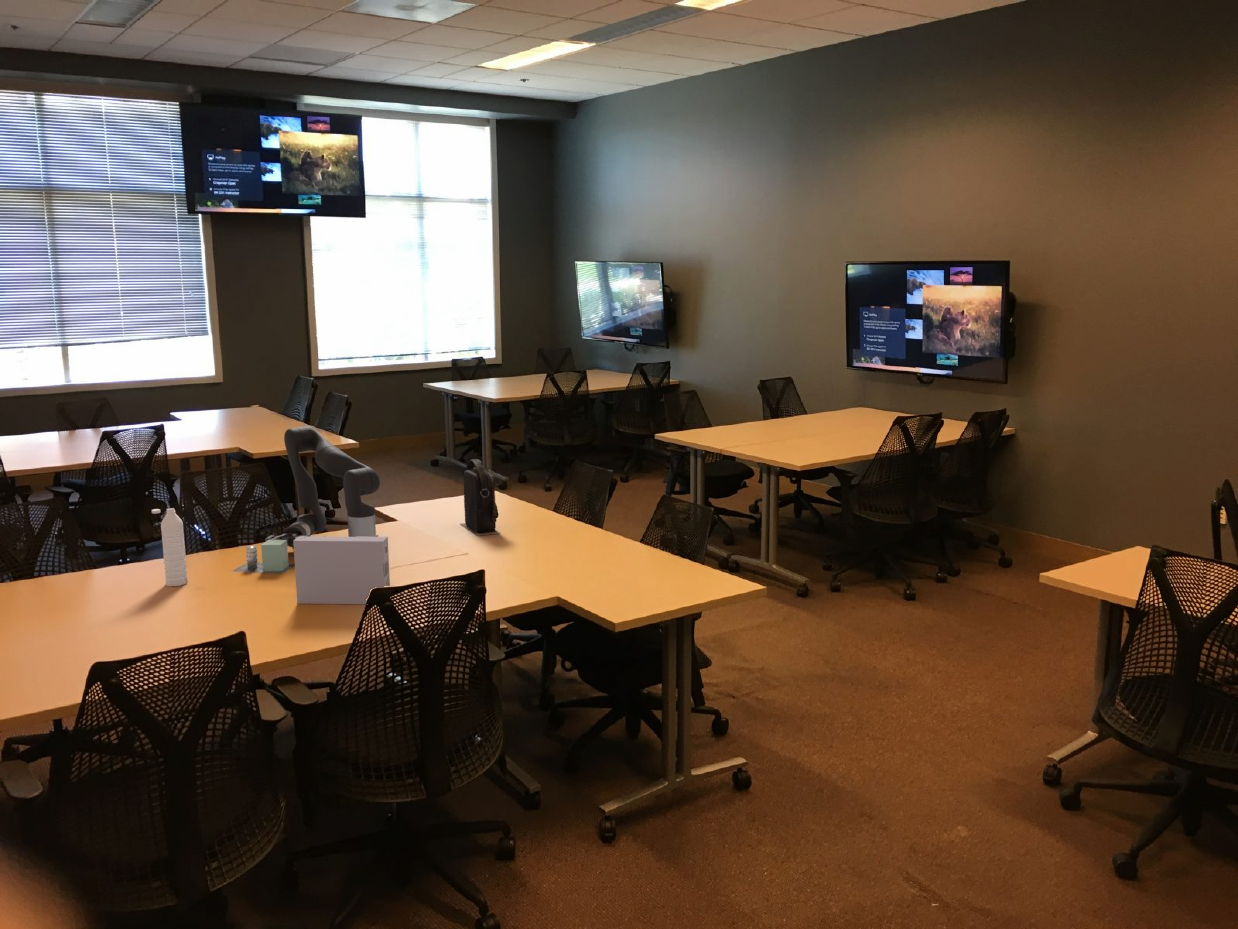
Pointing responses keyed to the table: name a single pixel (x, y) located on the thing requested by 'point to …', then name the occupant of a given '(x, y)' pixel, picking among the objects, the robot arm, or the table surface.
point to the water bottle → (173, 548)
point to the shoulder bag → (479, 500)
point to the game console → (339, 568)
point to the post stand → (256, 563)
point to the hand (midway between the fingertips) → (280, 546)
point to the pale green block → (274, 555)
